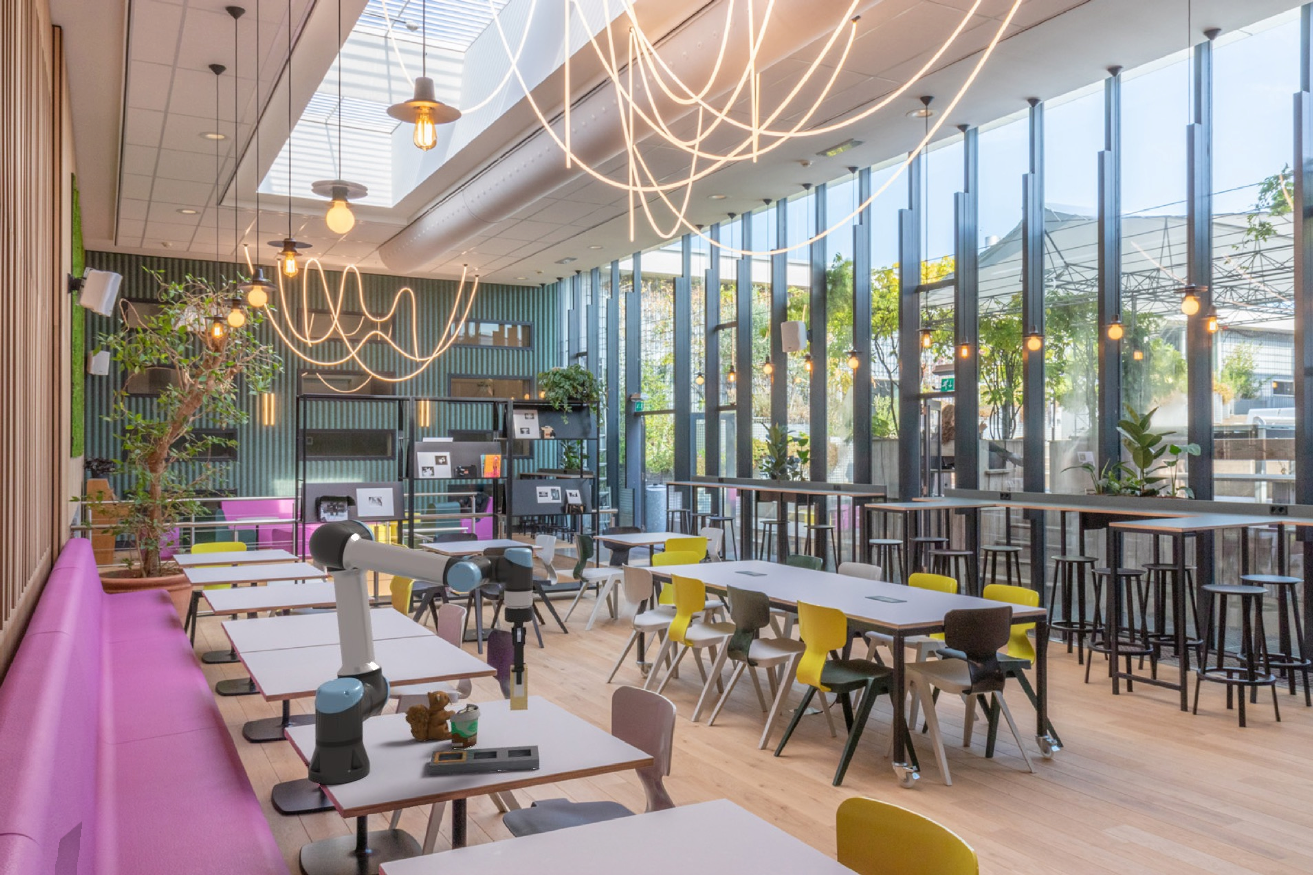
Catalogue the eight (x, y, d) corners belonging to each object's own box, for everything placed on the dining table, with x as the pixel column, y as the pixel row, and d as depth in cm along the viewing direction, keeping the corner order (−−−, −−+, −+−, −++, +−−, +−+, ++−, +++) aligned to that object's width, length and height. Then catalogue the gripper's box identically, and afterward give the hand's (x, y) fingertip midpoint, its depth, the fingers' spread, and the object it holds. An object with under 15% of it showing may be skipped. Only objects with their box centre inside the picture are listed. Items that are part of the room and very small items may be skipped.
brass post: (510, 710, 247) (510, 668, 247) (510, 705, 251) (510, 664, 252) (527, 709, 248) (527, 667, 248) (527, 705, 252) (527, 664, 252)
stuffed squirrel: (460, 737, 272) (460, 692, 273) (413, 746, 264) (413, 699, 265) (447, 729, 281) (447, 685, 281) (401, 738, 273) (401, 692, 273)
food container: (470, 751, 259) (470, 715, 259) (449, 750, 260) (449, 714, 260) (487, 738, 271) (487, 703, 271) (467, 737, 272) (467, 703, 272)
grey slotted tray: (429, 775, 239) (429, 764, 240) (432, 760, 251) (432, 750, 251) (539, 768, 244) (539, 758, 244) (537, 754, 256) (537, 744, 256)
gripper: (533, 610, 242) (533, 701, 241) (532, 600, 259) (532, 685, 259) (504, 611, 241) (504, 702, 240) (504, 601, 258) (504, 686, 258)
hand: (518, 693), depth 249 cm, fingers closed on brass post, 4 cm apart
